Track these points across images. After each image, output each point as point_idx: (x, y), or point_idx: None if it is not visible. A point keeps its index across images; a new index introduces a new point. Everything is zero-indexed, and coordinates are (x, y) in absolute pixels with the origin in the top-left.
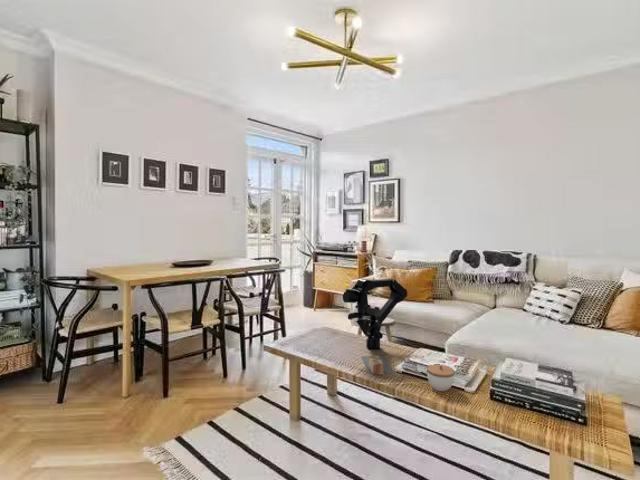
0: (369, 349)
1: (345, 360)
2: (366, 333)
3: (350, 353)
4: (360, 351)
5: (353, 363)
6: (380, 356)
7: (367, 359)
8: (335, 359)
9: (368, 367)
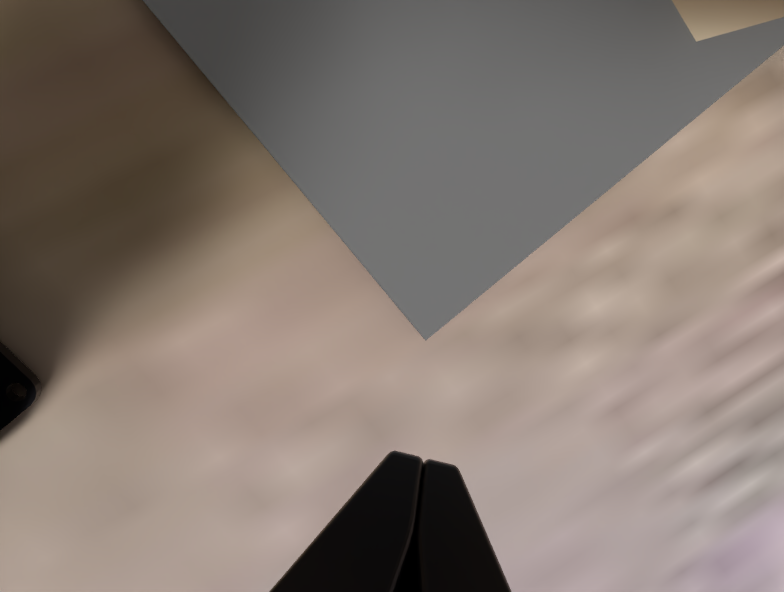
0: (28, 384)
1: (652, 446)
2: (417, 469)
3: None
4: (186, 475)
5: (692, 297)
6: (212, 40)
7: (483, 178)
8: (689, 566)
9: None
